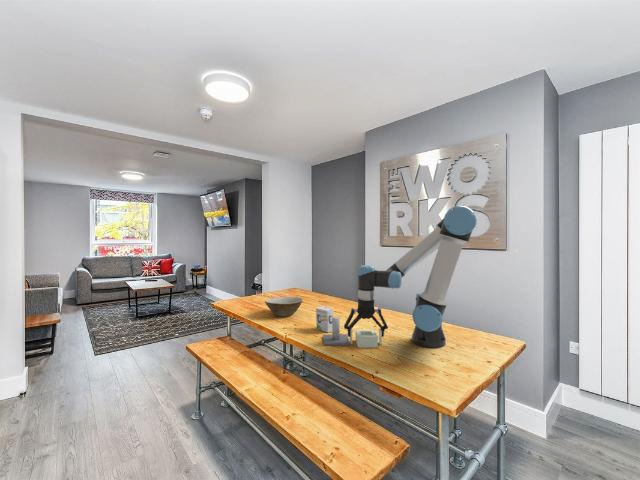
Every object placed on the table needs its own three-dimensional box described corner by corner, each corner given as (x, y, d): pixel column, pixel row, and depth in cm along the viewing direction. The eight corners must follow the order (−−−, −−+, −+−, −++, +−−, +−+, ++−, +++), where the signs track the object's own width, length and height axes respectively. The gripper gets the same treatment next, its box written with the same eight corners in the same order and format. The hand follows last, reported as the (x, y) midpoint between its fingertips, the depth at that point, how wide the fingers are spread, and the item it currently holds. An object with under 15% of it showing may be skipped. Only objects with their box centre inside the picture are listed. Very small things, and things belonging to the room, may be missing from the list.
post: (347, 336, 151) (347, 314, 151) (349, 345, 139) (349, 322, 139) (323, 336, 151) (323, 314, 150) (323, 345, 139) (323, 322, 139)
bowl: (271, 309, 204) (271, 294, 204) (306, 310, 201) (306, 295, 200) (259, 319, 181) (259, 302, 180) (298, 320, 177) (298, 304, 177)
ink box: (334, 330, 160) (334, 308, 159) (327, 333, 156) (327, 310, 156) (322, 327, 166) (322, 305, 165) (315, 329, 162) (315, 307, 162)
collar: (374, 340, 146) (374, 330, 145) (377, 347, 137) (377, 336, 136) (355, 340, 146) (355, 330, 145) (358, 347, 137) (358, 336, 136)
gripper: (390, 296, 144) (390, 340, 145) (338, 296, 144) (338, 340, 145) (394, 300, 137) (394, 346, 137) (339, 300, 136) (339, 346, 137)
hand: (365, 343), depth 141 cm, fingers open, 13 cm apart
